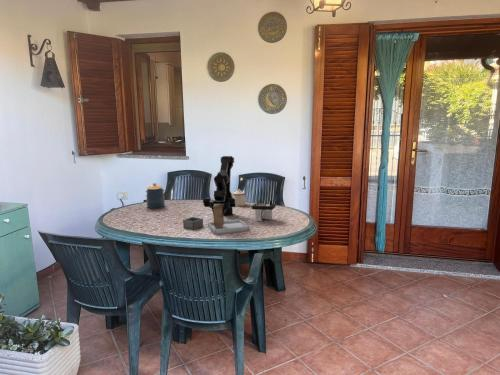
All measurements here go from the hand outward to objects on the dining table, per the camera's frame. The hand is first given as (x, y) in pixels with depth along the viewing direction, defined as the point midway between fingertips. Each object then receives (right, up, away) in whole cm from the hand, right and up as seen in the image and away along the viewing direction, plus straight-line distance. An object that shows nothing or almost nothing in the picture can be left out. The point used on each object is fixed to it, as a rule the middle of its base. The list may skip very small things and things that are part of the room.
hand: (218, 215), depth 220 cm
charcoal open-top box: (-15, -7, +8) cm, 19 cm away
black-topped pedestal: (+27, -5, +20) cm, 34 cm away
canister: (-51, +2, +61) cm, 80 cm away
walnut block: (0, -6, +3) cm, 7 cm away
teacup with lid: (+9, +3, +63) cm, 64 cm away
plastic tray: (+6, -8, +3) cm, 10 cm away
